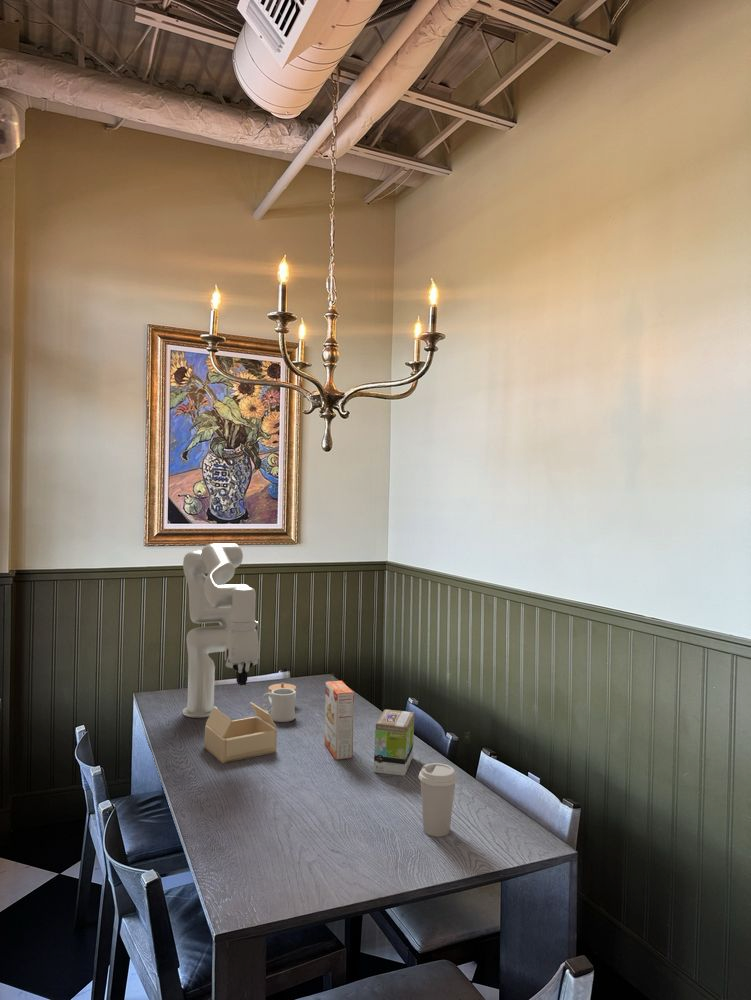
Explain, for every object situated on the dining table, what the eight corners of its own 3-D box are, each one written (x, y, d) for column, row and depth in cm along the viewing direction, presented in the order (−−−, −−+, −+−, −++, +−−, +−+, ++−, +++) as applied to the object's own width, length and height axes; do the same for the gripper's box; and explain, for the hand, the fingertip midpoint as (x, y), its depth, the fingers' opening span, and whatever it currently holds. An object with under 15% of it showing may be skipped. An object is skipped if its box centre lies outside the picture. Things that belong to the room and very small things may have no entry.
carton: (203, 746, 215) (204, 725, 215) (255, 736, 225) (256, 716, 225) (223, 763, 202) (223, 740, 202) (277, 752, 212) (277, 730, 212)
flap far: (275, 727, 213) (276, 726, 213) (268, 714, 211) (269, 713, 211) (256, 715, 224) (257, 714, 225) (249, 702, 223) (250, 701, 223)
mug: (297, 715, 248) (298, 688, 248) (292, 723, 239) (293, 695, 239) (265, 713, 250) (265, 686, 250) (258, 721, 241) (259, 693, 241)
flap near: (206, 724, 214) (205, 723, 214) (215, 707, 216) (214, 707, 216) (223, 737, 203) (222, 737, 203) (232, 720, 204) (231, 720, 204)
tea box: (406, 776, 197) (407, 726, 197) (372, 773, 199) (374, 723, 199) (413, 757, 211) (414, 710, 211) (382, 754, 213) (383, 707, 213)
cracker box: (323, 744, 220) (324, 680, 220) (340, 742, 222) (342, 679, 222) (334, 760, 207) (336, 693, 207) (353, 758, 209) (355, 691, 209)
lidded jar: (262, 709, 254) (263, 685, 254) (275, 701, 264) (275, 678, 264) (288, 713, 251) (289, 688, 251) (300, 705, 261) (300, 680, 261)
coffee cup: (431, 817, 172) (433, 758, 172) (463, 829, 166) (465, 769, 166) (409, 830, 165) (411, 769, 164) (441, 844, 158) (443, 780, 158)
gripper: (259, 622, 221) (258, 678, 220) (216, 626, 212) (214, 684, 212) (269, 626, 214) (268, 683, 214) (225, 630, 206) (224, 690, 206)
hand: (241, 684), depth 213 cm, fingers closed
